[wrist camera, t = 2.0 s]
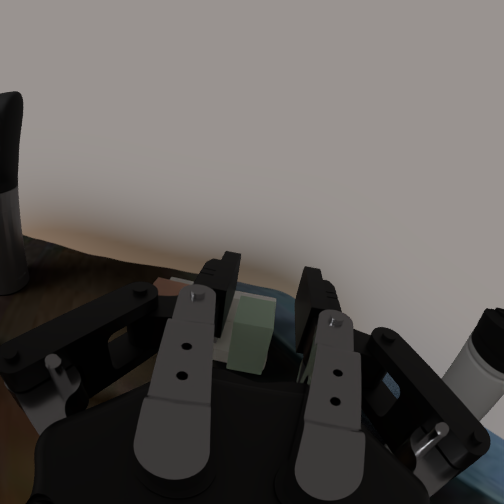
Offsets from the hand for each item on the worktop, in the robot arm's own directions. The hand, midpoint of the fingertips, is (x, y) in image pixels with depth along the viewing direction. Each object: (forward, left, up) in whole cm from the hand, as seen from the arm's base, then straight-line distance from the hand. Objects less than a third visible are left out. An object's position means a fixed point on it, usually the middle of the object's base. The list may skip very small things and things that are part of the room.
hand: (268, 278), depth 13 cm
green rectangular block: (0, +13, -18) cm, 22 cm away
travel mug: (+19, 0, -20) cm, 28 cm away
